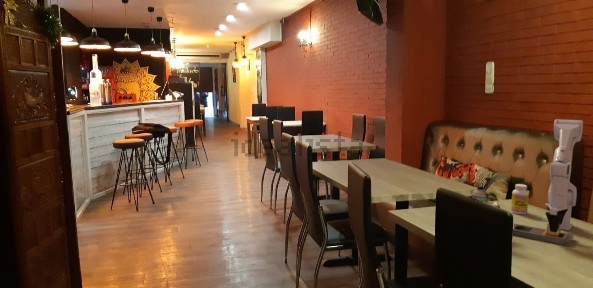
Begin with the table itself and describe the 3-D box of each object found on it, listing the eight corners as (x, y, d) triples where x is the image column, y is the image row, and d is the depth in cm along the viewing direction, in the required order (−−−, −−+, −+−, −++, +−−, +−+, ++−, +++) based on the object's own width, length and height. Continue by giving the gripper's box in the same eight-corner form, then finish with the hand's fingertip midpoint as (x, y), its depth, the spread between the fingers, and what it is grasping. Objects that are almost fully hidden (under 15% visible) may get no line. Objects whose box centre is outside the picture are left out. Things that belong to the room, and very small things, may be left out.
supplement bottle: (512, 214, 204) (514, 186, 202) (509, 210, 210) (511, 183, 208) (528, 215, 202) (530, 187, 200) (525, 211, 208) (527, 184, 206)
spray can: (484, 235, 175) (488, 184, 173) (485, 239, 170) (489, 187, 168) (469, 233, 177) (472, 183, 175) (470, 238, 172) (473, 186, 169)
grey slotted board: (510, 227, 184) (511, 222, 184) (573, 239, 171) (573, 234, 170) (504, 233, 177) (505, 228, 177) (569, 246, 164) (569, 240, 163)
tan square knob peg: (548, 236, 174) (549, 221, 173) (560, 239, 171) (561, 223, 170) (545, 239, 171) (547, 224, 170) (557, 242, 168) (559, 226, 167)
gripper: (550, 188, 176) (547, 222, 178) (542, 195, 165) (539, 231, 167) (571, 191, 172) (568, 226, 174) (564, 199, 161) (561, 235, 163)
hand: (555, 229), depth 170 cm, fingers open, 7 cm apart
